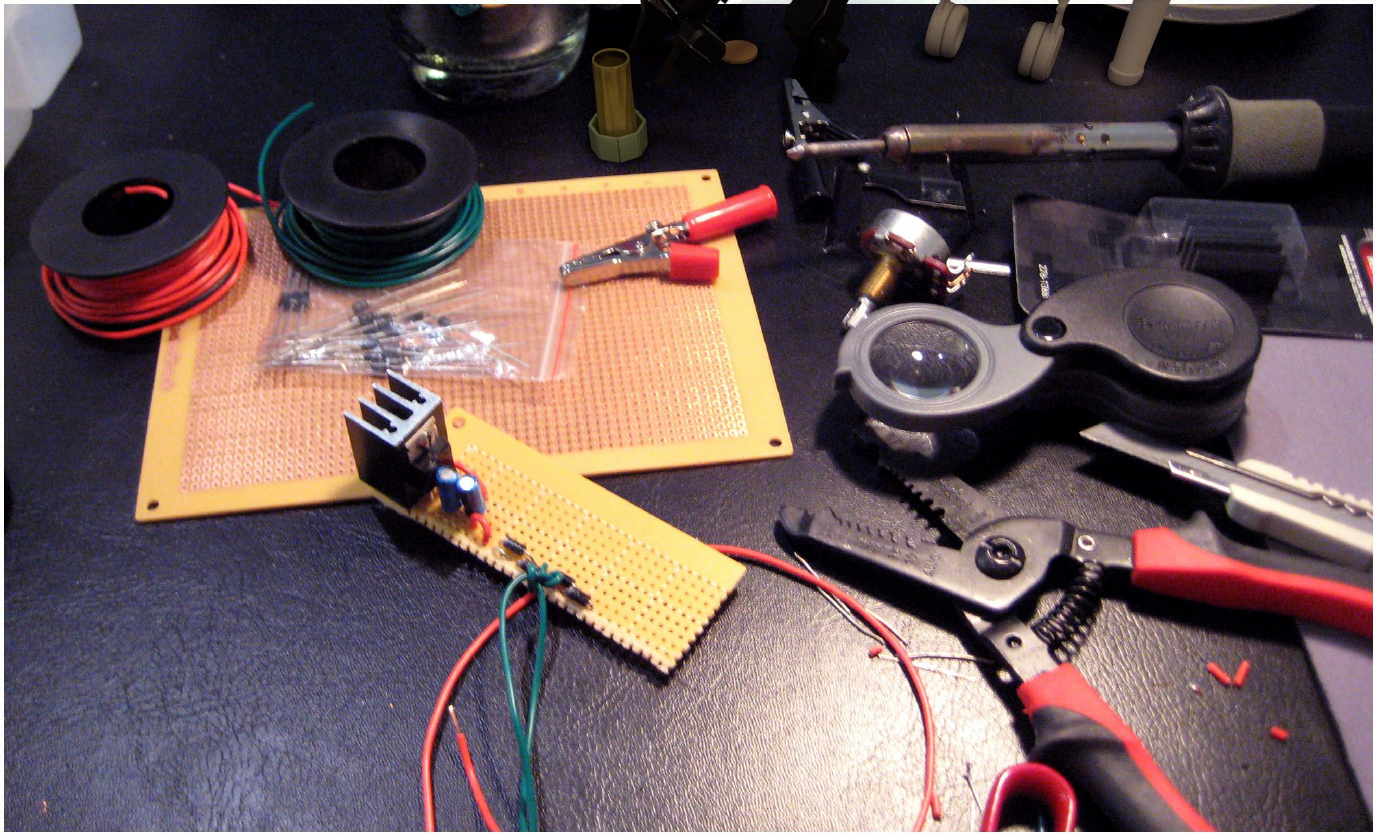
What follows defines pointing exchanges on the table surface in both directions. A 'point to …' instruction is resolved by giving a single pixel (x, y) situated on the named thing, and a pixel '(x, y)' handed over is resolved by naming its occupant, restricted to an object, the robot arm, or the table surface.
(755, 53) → the coaster
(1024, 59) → the headphones
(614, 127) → the vase
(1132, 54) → the bottle
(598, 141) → the ring
